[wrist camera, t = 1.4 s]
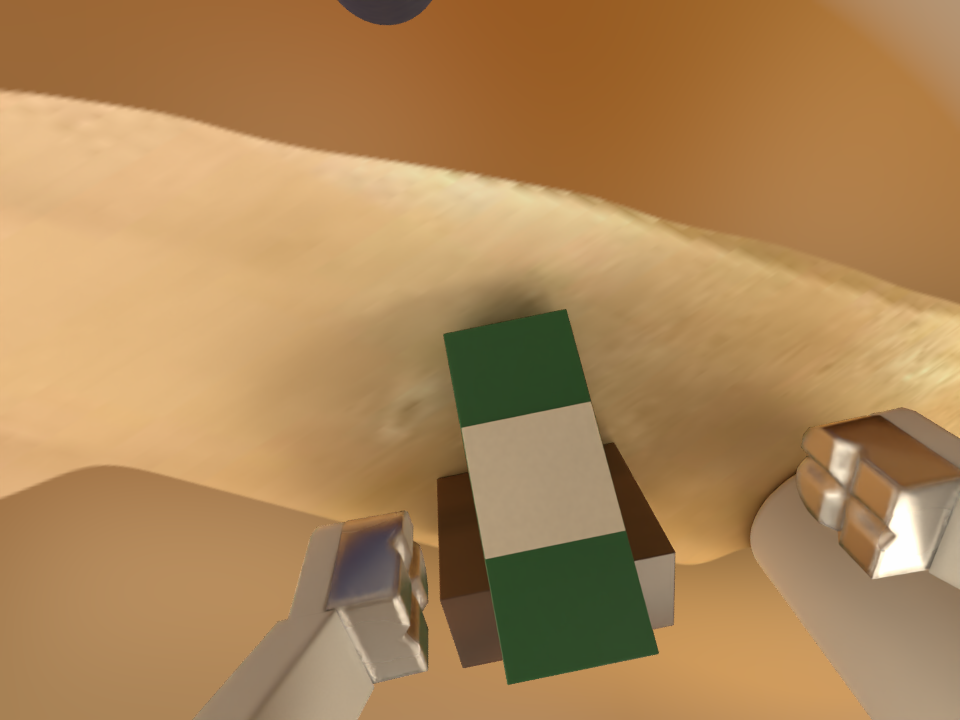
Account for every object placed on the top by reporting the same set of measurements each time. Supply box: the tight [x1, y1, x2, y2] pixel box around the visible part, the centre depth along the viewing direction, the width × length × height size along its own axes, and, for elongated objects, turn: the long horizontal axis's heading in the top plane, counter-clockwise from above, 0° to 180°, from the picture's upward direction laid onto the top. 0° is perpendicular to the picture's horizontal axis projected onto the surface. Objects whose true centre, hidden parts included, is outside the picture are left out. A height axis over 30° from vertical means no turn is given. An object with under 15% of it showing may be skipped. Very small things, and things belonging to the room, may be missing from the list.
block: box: [437, 443, 675, 668], centre depth 29 cm, size 6×12×9 cm, turn 100°
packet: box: [443, 309, 659, 685], centre depth 24 cm, size 13×6×13 cm, turn 10°
